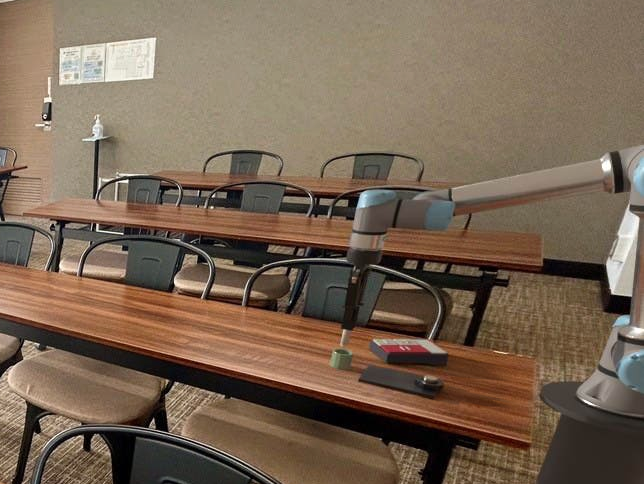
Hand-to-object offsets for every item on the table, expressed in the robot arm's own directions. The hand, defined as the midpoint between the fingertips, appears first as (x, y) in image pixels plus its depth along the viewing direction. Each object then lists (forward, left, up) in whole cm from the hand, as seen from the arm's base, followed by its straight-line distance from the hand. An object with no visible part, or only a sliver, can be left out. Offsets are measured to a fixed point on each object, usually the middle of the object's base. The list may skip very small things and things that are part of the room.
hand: (347, 328), depth 165 cm
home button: (-20, +2, -10) cm, 23 cm away
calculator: (-12, -19, -12) cm, 26 cm away
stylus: (0, 0, -6) cm, 6 cm away
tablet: (-14, +2, -12) cm, 19 cm away
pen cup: (0, 0, -12) cm, 12 cm away
